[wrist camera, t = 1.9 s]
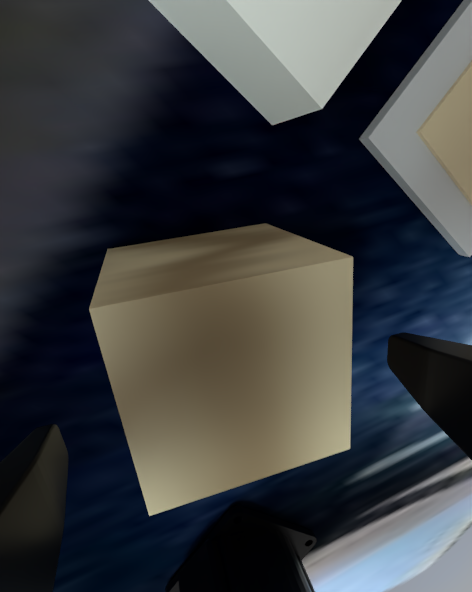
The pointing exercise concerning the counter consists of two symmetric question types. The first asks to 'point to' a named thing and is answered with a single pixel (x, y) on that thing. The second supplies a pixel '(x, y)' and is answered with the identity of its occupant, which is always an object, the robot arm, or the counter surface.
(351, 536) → the counter surface
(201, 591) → the robot arm
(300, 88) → the cream block
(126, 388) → the maple cube
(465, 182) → the tile
